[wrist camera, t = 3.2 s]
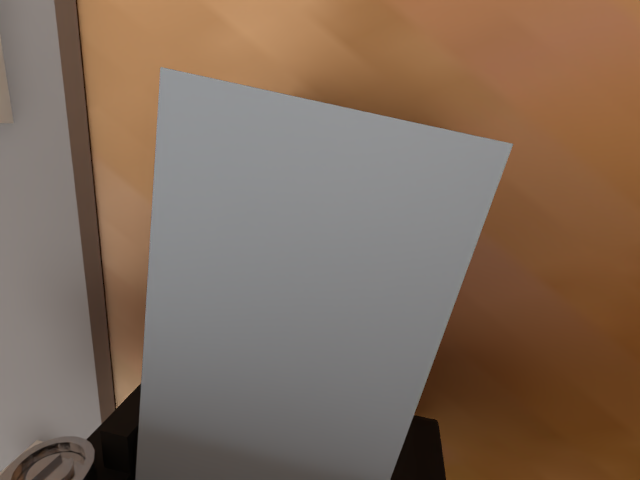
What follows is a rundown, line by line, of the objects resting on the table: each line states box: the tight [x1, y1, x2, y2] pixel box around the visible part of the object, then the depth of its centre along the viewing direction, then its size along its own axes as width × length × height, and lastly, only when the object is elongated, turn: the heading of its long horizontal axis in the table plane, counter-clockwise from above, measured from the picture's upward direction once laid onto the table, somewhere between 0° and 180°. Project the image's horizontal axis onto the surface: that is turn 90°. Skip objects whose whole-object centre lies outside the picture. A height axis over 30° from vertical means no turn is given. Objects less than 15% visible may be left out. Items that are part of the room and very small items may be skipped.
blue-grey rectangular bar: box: [135, 67, 513, 480], centre depth 8 cm, size 14×4×5 cm, turn 168°
